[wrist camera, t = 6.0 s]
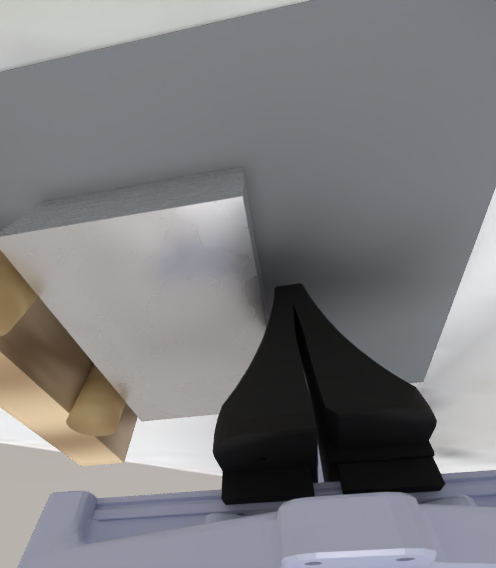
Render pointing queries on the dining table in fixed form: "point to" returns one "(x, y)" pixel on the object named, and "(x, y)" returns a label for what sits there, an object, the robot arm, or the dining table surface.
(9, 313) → the bench fence
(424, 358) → the bench mat
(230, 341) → the grey flat piece
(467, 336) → the dining table surface
